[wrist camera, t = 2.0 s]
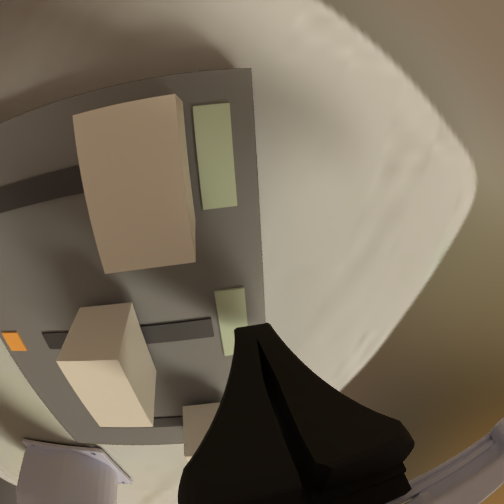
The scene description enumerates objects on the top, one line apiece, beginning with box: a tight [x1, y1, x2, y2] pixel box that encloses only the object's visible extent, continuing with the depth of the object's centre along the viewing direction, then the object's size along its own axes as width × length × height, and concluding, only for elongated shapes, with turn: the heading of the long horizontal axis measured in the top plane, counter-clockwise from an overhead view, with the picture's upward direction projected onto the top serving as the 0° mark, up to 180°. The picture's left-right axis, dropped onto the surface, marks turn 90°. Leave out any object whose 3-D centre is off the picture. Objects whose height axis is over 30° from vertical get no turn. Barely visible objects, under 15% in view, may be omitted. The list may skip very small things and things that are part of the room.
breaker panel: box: [0, 68, 265, 445], centre depth 13 cm, size 14×20×2 cm
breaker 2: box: [183, 402, 220, 462], centre depth 14 cm, size 2×4×3 cm, turn 3°
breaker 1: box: [72, 94, 196, 274], centre depth 8 cm, size 2×4×3 cm, turn 3°
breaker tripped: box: [56, 302, 156, 427], centre depth 11 cm, size 2×4×3 cm, turn 3°
